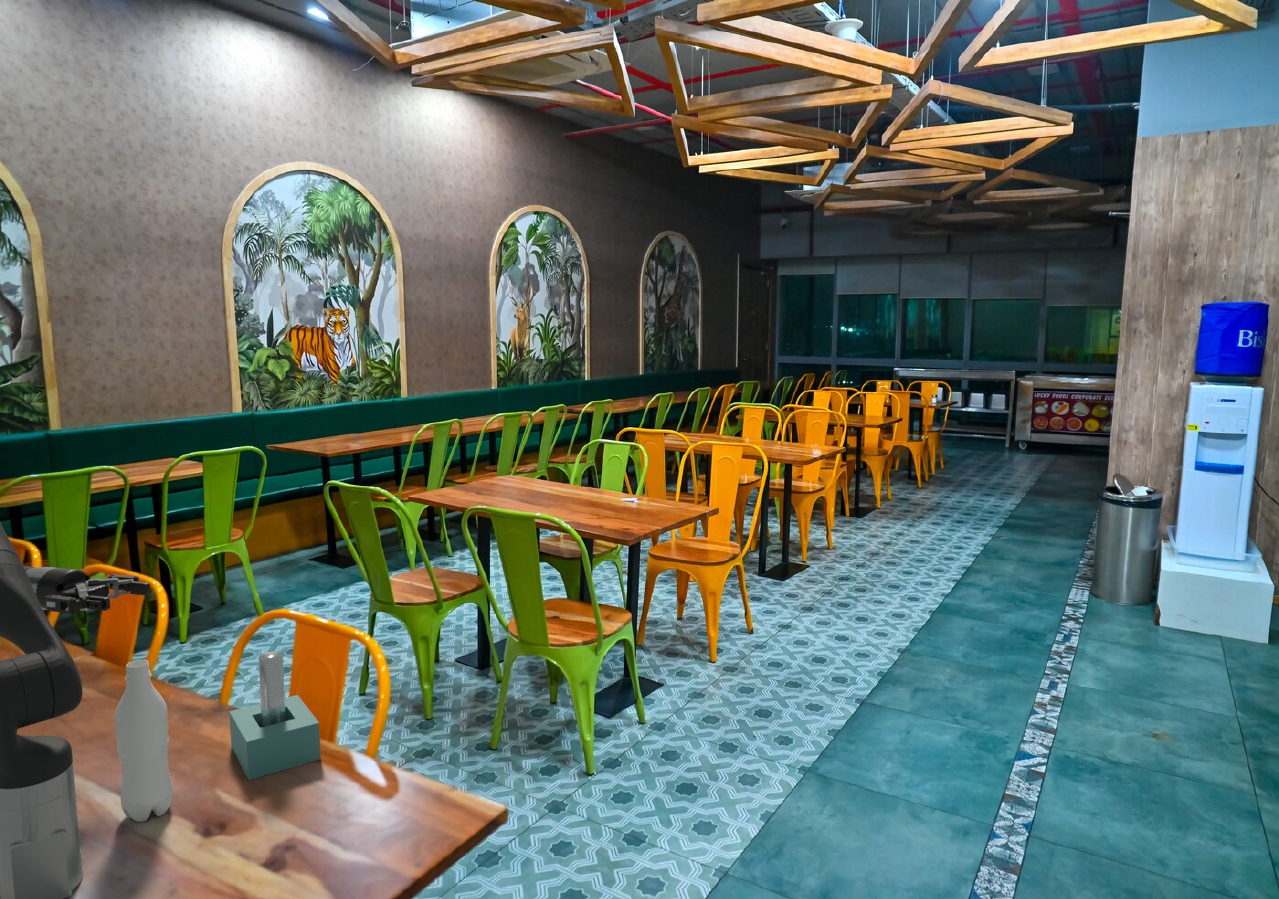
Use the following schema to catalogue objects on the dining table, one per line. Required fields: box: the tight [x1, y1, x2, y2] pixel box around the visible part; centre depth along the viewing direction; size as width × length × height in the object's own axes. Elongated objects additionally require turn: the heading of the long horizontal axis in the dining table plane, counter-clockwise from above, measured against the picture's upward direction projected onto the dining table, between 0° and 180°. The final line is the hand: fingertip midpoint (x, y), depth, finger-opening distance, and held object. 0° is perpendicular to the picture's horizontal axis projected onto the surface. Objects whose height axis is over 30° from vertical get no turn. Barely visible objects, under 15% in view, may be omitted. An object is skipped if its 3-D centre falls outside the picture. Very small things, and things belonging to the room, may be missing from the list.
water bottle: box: [113, 659, 174, 823], centre depth 130 cm, size 7×7×25 cm
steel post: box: [258, 651, 286, 727], centre depth 149 cm, size 4×4×18 cm
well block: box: [229, 694, 322, 781], centre depth 150 cm, size 14×12×7 cm
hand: (129, 596), depth 144 cm, fingers open, 8 cm apart
